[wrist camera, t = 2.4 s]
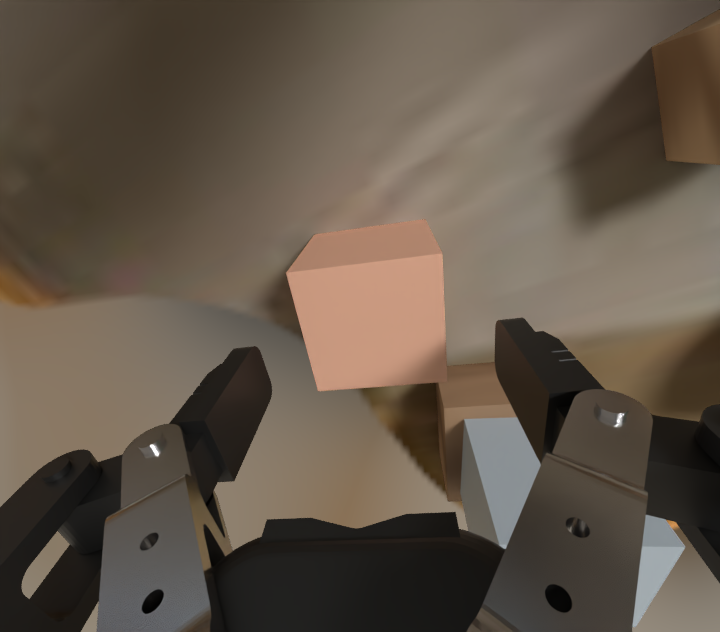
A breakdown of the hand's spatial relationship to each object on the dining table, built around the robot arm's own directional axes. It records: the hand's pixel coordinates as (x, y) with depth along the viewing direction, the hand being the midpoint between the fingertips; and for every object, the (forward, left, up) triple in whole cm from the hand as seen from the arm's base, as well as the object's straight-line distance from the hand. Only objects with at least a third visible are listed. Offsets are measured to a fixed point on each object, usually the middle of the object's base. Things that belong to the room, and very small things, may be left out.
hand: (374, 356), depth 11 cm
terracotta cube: (-1, 0, -6) cm, 6 cm away
